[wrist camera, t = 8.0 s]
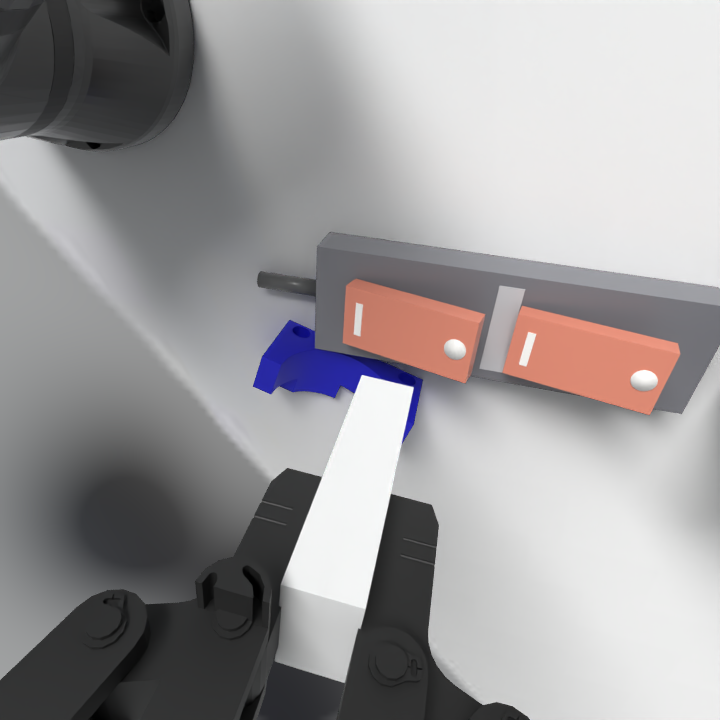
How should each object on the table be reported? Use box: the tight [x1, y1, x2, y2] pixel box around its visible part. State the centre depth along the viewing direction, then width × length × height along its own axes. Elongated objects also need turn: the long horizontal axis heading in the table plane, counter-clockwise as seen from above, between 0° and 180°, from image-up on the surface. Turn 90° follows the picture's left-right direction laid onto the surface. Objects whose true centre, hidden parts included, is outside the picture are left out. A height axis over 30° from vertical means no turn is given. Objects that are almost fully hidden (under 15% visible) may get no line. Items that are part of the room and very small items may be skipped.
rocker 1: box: [343, 279, 485, 383], centre depth 32 cm, size 9×4×2 cm, turn 86°
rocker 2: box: [502, 306, 680, 415], centre depth 30 cm, size 9×4×2 cm, turn 83°
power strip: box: [257, 232, 720, 414], centre depth 34 cm, size 31×8×3 cm, turn 84°
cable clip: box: [253, 320, 423, 445], centre depth 39 cm, size 12×4×6 cm, turn 68°
